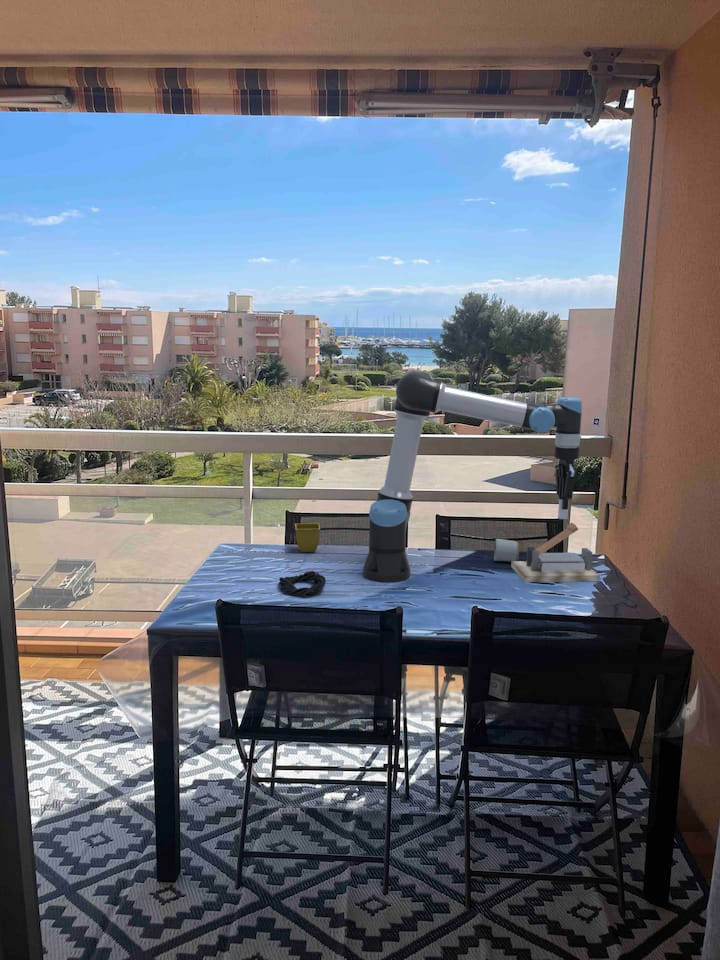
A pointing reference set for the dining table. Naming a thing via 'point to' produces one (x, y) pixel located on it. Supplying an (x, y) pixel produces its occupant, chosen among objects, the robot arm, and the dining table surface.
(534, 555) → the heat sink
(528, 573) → the board
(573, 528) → the strap
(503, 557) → the ceramic mug
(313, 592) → the cable
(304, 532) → the flower pot
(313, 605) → the dining table surface
